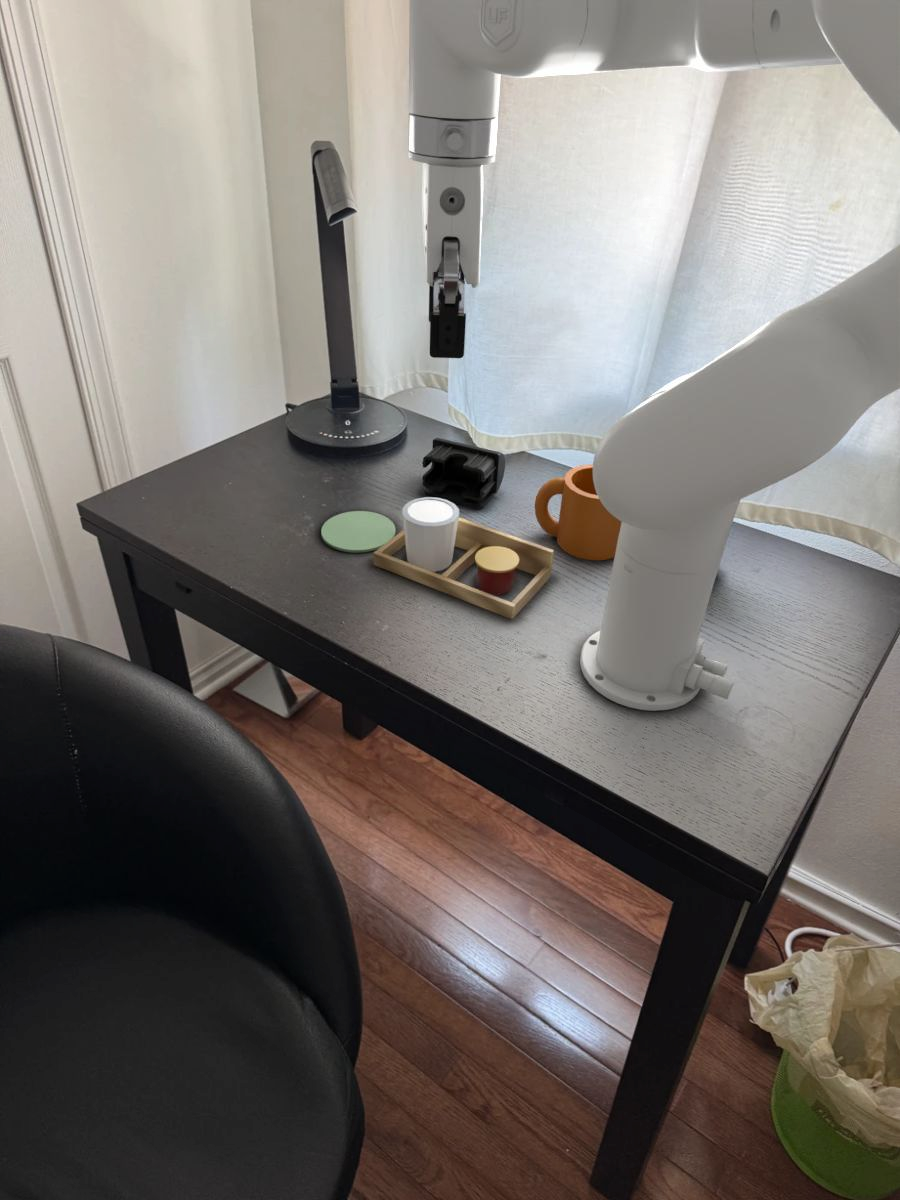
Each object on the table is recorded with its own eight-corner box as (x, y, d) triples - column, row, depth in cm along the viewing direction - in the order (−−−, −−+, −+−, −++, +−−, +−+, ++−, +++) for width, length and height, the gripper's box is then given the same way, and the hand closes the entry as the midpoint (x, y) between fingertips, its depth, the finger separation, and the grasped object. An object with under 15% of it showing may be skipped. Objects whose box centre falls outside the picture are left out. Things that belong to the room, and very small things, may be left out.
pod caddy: (550, 577, 96) (554, 549, 94) (512, 619, 89) (515, 591, 87) (418, 529, 104) (418, 503, 102) (373, 565, 97) (372, 537, 95)
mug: (548, 511, 109) (555, 452, 103) (632, 535, 105) (645, 474, 99) (523, 542, 102) (529, 480, 97) (612, 568, 98) (624, 505, 93)
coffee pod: (524, 580, 96) (527, 554, 93) (503, 601, 92) (506, 576, 90) (486, 566, 98) (488, 541, 95) (465, 587, 94) (466, 561, 92)
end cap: (503, 488, 114) (507, 445, 109) (484, 511, 108) (487, 466, 104) (440, 473, 117) (442, 430, 113) (419, 494, 111) (419, 450, 107)
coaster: (409, 527, 104) (409, 524, 104) (366, 561, 98) (366, 558, 97) (351, 506, 108) (351, 503, 108) (305, 537, 102) (305, 534, 101)
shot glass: (451, 578, 95) (453, 528, 91) (395, 570, 96) (395, 520, 92) (462, 548, 101) (464, 500, 97) (409, 540, 102) (409, 492, 98)
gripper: (504, 157, 61) (489, 373, 71) (489, 128, 75) (478, 312, 85) (407, 153, 61) (405, 370, 71) (409, 125, 74) (408, 310, 85)
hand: (445, 338), depth 78 cm, fingers open, 9 cm apart
